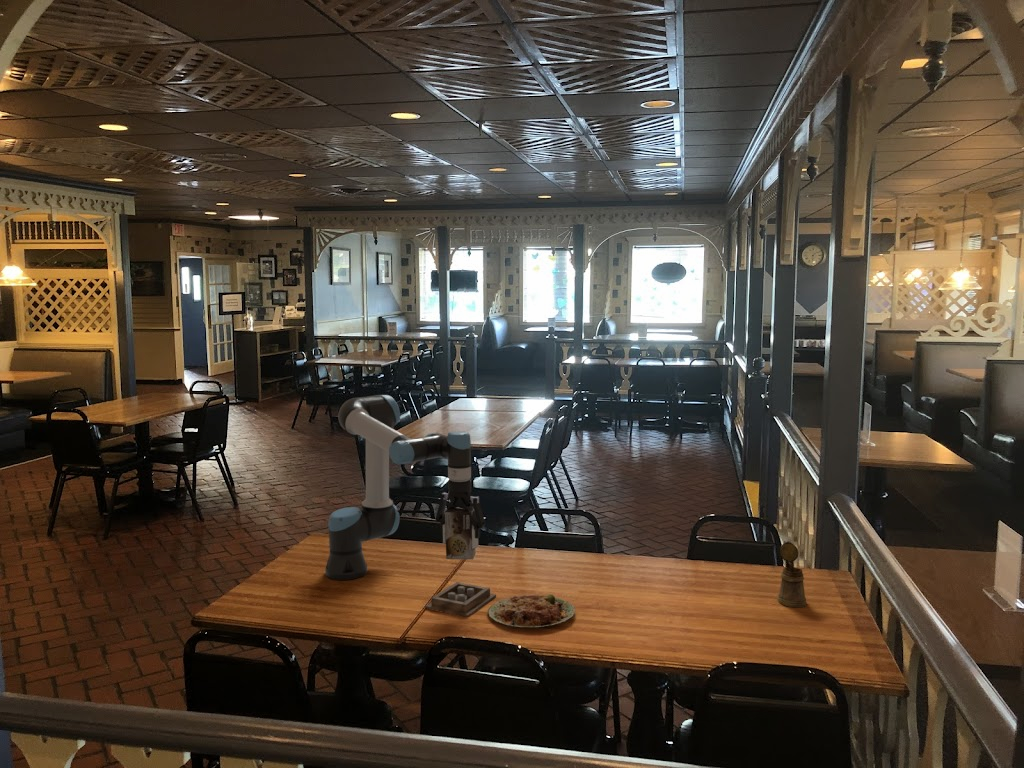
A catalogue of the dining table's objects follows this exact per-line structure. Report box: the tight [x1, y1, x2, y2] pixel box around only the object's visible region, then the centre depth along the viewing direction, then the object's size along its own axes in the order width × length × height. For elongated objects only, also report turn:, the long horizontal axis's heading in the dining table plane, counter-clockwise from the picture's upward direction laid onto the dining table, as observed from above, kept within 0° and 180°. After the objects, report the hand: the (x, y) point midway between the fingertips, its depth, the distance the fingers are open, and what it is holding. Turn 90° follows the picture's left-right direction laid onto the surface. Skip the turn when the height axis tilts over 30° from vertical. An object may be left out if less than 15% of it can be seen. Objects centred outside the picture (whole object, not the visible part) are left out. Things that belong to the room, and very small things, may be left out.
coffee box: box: [444, 506, 476, 560], centre depth 259 cm, size 9×6×16 cm
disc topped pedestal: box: [777, 540, 808, 608], centre depth 262 cm, size 9×14×18 cm, turn 172°
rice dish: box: [487, 594, 576, 628], centre depth 252 cm, size 28×28×5 cm
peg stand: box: [424, 581, 497, 618], centre depth 262 cm, size 16×19×4 cm
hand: (460, 545), depth 260 cm, fingers closed on coffee box, 10 cm apart
